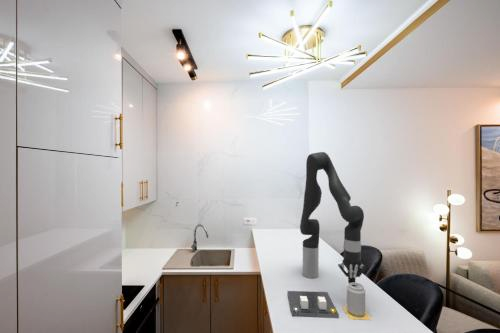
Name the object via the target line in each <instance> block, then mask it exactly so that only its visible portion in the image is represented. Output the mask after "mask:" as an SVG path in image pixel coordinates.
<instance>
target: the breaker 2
mask: <svg viewBox="0 0 500 333" xmlns="http://www.w3.org/2000/svg"><path fill="white" fill-rule="evenodd" d="M318 307H319V309H322V310H327V302H326V300H325V297H318Z"/></svg>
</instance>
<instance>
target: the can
mask: <svg viewBox="0 0 500 333" xmlns="http://www.w3.org/2000/svg"><path fill="white" fill-rule="evenodd" d="M346 306H347V310H348V311H349V312H350V313H351V314H352V315H354V316H362V315H364V314H365V311H366V290H365V287H364V285H362V284H361V283H358V282H356V281H355V282H352V283H348V285H347V286H346Z"/></svg>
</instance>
